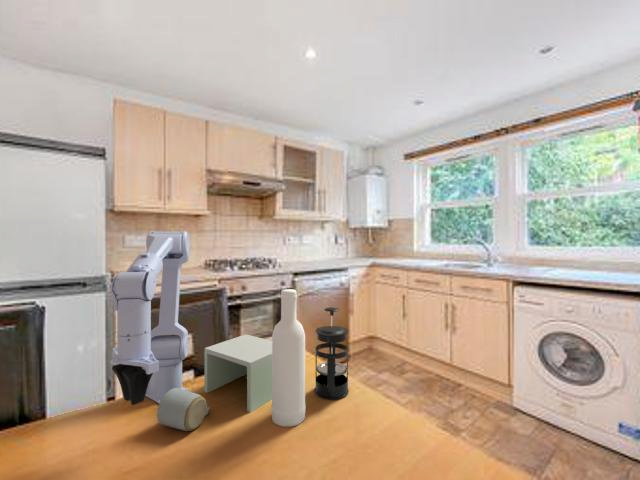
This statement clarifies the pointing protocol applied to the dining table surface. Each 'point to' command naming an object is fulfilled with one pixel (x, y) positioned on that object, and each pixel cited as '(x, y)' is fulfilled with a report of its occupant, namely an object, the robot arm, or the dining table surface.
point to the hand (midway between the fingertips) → (134, 400)
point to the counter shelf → (241, 367)
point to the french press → (331, 362)
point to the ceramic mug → (182, 409)
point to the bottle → (288, 365)
